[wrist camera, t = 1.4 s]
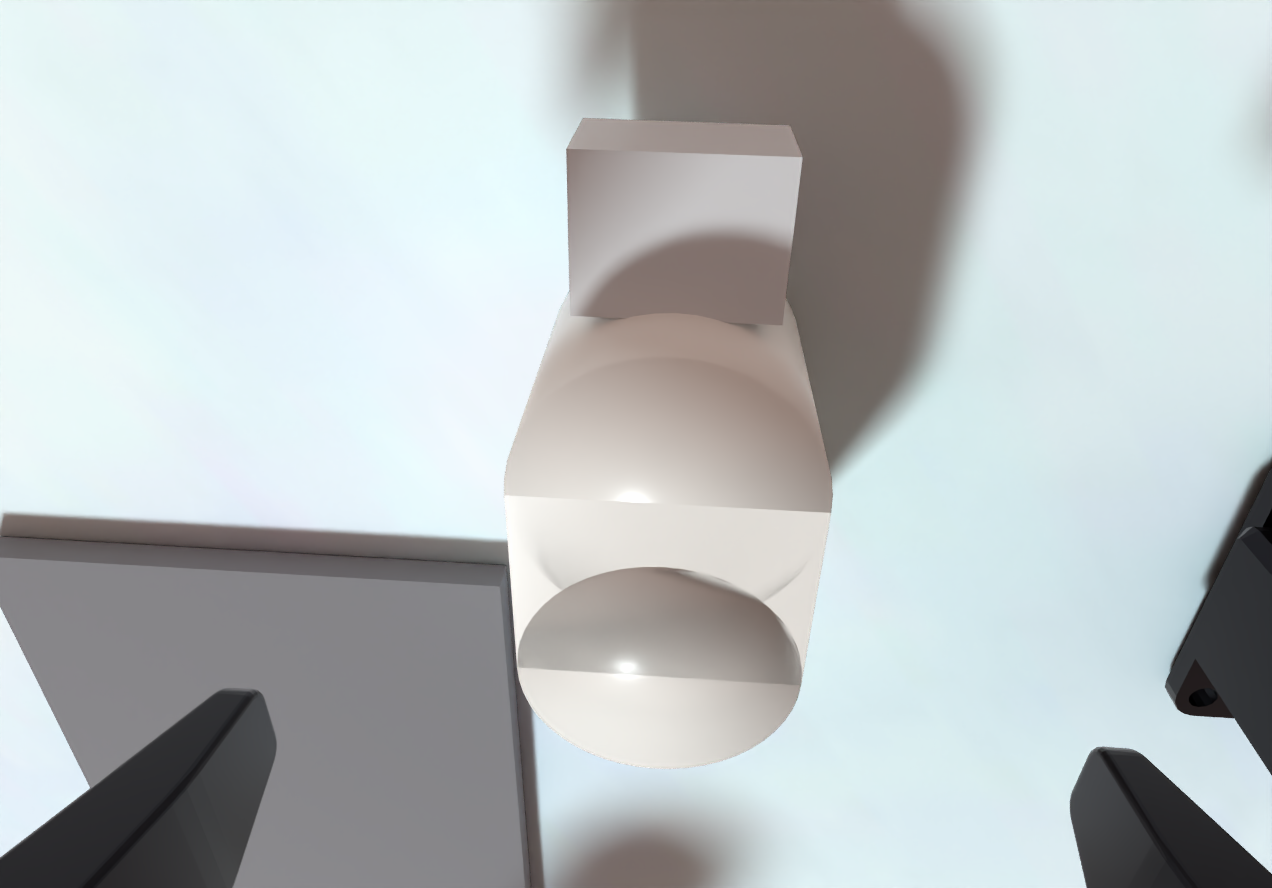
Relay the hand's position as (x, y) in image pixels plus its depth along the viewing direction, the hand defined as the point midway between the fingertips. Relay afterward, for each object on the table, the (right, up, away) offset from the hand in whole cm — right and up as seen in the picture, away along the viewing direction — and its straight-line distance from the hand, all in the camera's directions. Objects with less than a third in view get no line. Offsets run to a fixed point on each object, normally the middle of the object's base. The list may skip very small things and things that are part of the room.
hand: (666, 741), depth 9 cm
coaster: (-8, -4, +10) cm, 14 cm away
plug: (0, +3, +5) cm, 6 cm away
